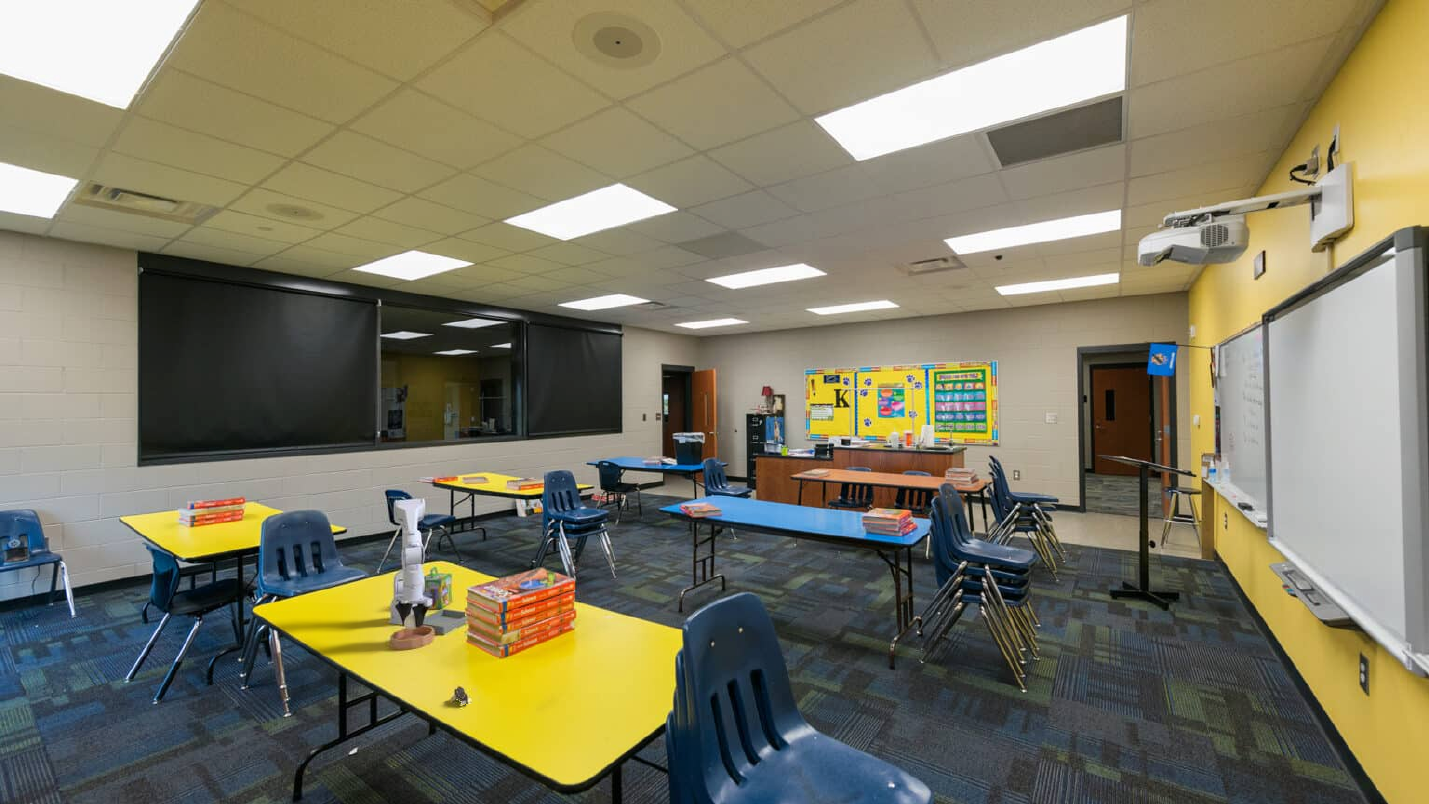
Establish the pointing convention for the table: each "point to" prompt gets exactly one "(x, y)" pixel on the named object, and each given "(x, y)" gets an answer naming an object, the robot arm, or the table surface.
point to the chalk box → (438, 589)
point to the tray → (445, 620)
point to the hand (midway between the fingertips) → (412, 625)
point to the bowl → (412, 638)
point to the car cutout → (460, 696)
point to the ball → (410, 622)
